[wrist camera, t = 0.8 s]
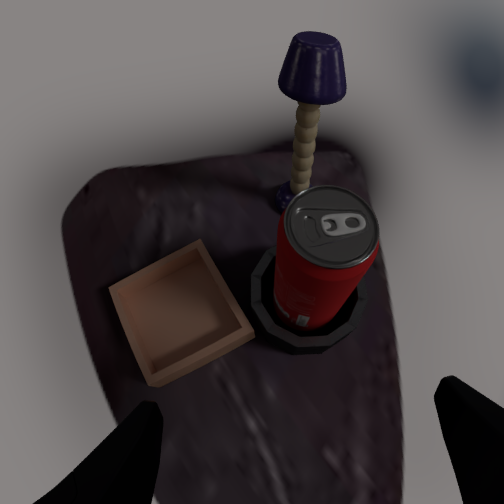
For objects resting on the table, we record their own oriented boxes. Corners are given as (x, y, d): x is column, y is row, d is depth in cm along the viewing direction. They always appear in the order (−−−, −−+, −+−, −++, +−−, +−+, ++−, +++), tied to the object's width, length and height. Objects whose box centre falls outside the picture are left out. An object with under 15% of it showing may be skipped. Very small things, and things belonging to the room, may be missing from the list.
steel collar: (372, 318, 24) (387, 304, 21) (287, 374, 22) (291, 370, 19) (316, 241, 28) (323, 220, 24) (234, 287, 26) (229, 269, 23)
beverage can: (268, 279, 26) (270, 186, 15) (327, 270, 26) (364, 177, 16) (277, 339, 24) (289, 281, 13) (341, 328, 24) (398, 264, 13)
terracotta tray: (254, 337, 24) (254, 330, 22) (159, 387, 22) (148, 385, 20) (205, 252, 27) (200, 238, 25) (120, 297, 26) (108, 287, 23)
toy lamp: (271, 182, 31) (273, 25, 16) (316, 179, 31) (341, 27, 16) (277, 221, 29) (285, 53, 14) (326, 217, 29) (366, 56, 14)
